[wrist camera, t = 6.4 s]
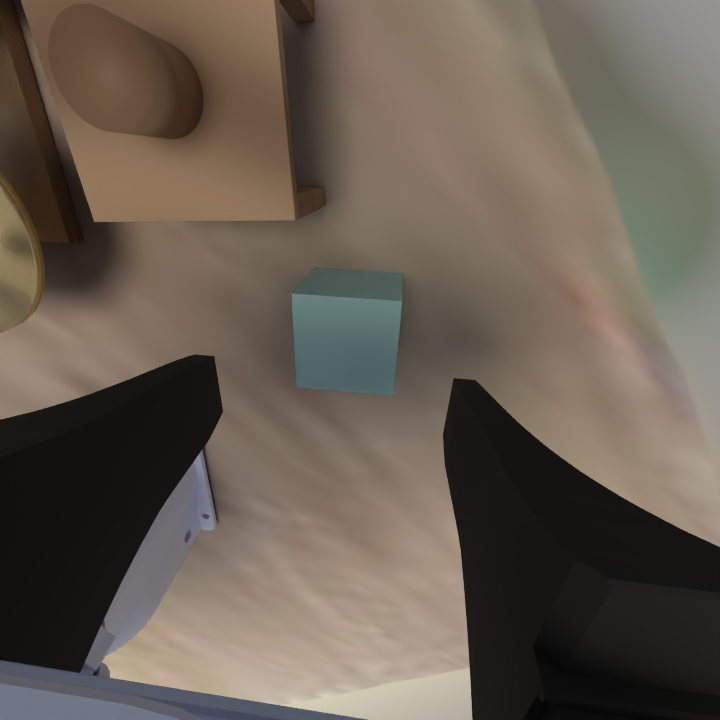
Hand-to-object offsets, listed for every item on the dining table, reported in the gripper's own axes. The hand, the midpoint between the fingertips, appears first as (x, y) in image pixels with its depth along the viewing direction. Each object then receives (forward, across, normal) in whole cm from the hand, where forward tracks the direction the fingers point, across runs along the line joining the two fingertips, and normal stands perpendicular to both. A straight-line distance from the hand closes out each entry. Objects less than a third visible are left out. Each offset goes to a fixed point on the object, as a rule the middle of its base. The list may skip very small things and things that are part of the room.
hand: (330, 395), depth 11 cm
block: (+7, 0, 0) cm, 7 cm away
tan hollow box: (+7, +5, -8) cm, 12 cm away
